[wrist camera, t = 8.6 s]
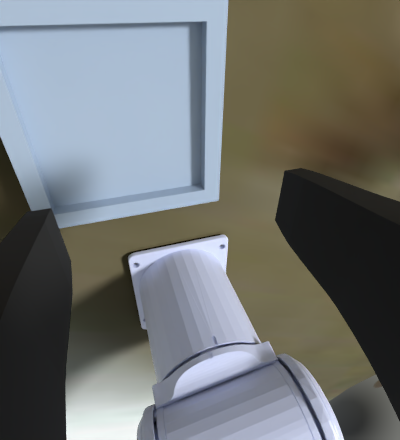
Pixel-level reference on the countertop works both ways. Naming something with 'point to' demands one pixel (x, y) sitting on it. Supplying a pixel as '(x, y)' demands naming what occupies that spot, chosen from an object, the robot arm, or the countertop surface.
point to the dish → (113, 104)
